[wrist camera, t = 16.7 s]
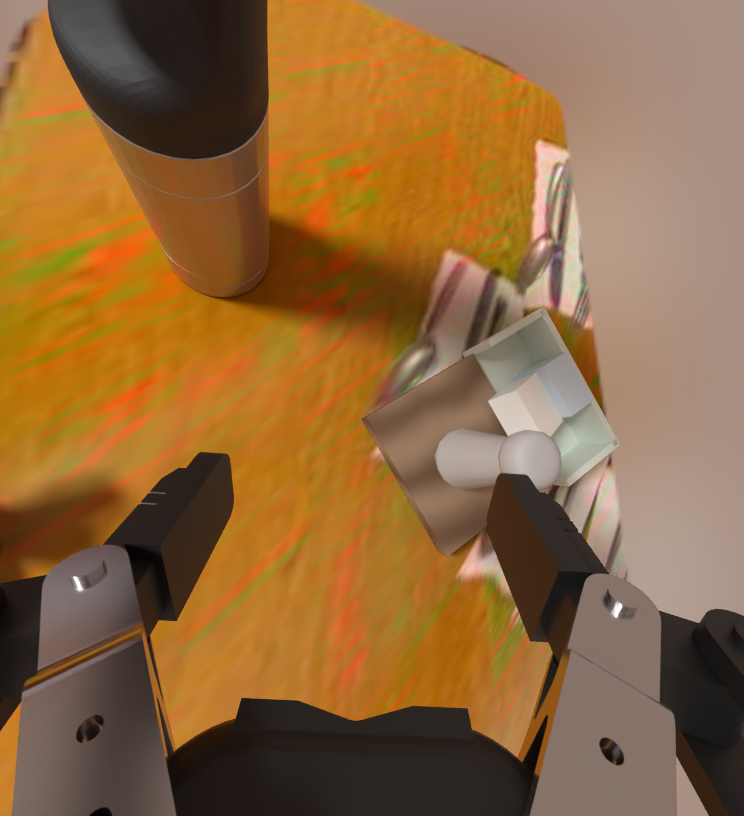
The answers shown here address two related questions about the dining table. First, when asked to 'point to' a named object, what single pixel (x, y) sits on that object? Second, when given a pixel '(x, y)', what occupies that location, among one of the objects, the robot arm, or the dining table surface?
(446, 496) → the board
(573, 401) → the pale grey block
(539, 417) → the beige block
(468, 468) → the salt shaker
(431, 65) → the dining table surface
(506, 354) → the tray
